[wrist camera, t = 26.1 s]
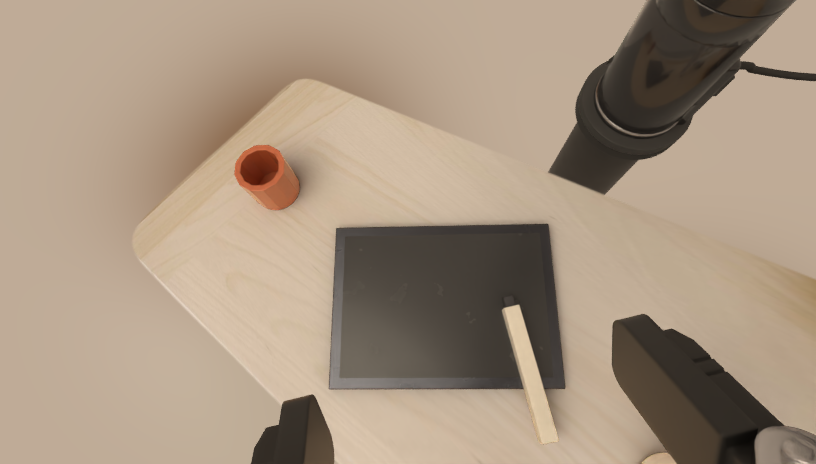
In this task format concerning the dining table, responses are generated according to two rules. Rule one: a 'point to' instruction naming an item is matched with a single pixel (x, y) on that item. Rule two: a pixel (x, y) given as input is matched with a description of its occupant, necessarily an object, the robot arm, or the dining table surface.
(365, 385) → the tablet
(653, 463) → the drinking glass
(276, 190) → the pen pot
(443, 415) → the dining table surface
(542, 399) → the stylus
